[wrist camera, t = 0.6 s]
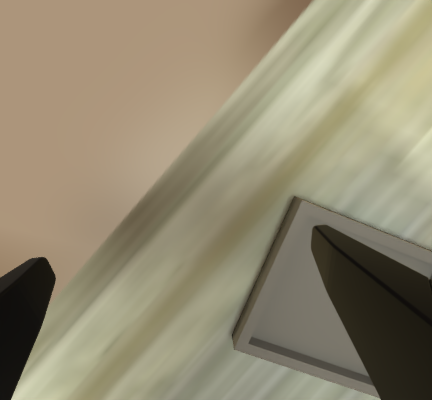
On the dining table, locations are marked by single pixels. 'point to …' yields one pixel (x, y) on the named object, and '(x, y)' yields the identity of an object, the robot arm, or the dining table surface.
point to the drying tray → (311, 300)
